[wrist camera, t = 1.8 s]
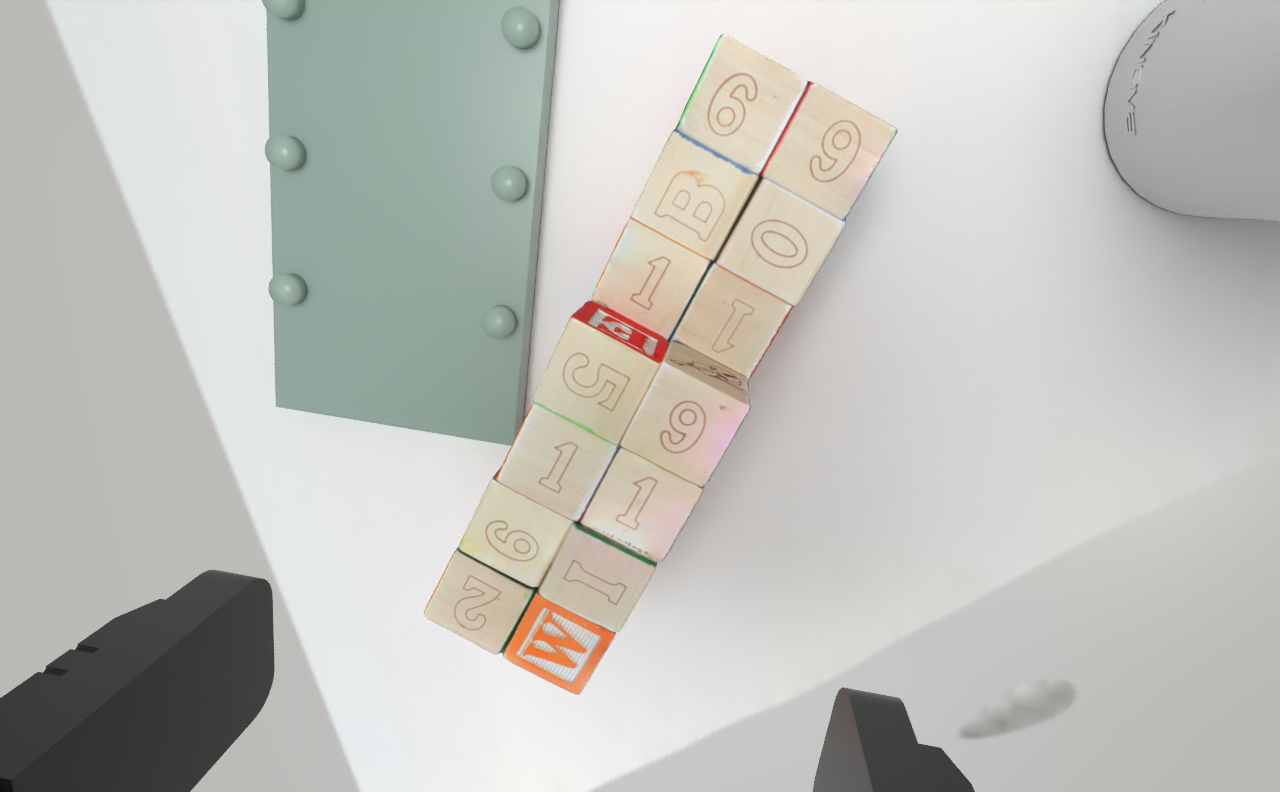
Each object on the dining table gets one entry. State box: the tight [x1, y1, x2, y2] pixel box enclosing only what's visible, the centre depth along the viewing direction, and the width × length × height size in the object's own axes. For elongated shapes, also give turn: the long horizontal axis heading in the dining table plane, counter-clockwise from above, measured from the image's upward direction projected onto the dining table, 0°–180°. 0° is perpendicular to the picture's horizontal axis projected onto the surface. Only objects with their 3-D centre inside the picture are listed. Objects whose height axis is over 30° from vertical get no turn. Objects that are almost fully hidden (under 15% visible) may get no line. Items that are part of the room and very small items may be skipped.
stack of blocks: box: [424, 34, 898, 695], centre depth 27 cm, size 21×6×12 cm, turn 152°
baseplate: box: [262, 0, 560, 446], centre depth 31 cm, size 12×24×2 cm, turn 172°
